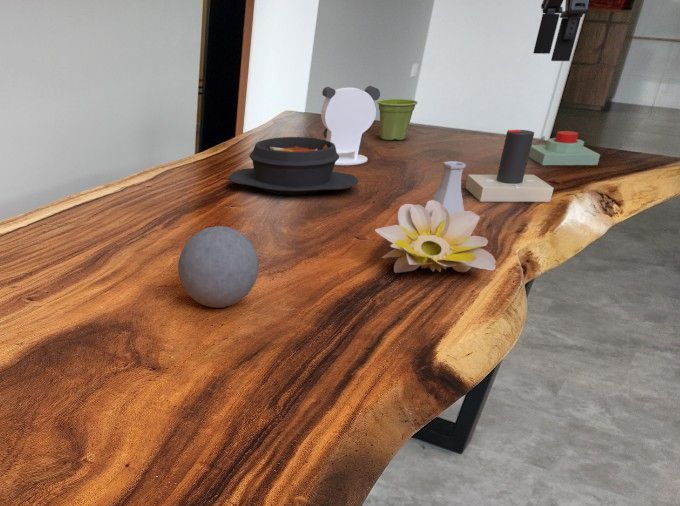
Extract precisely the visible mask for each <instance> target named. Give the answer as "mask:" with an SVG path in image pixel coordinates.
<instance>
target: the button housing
mask: <svg viewBox="0 0 680 506" xmlns="http://www.w3.org/2000/svg"><path fill="white" fill-rule="evenodd" d="M555 139H556V137H552V138H551V137H550V138H547V139H546V143H545V144H532V145H531V149H530V153H529V157H528V158H530V159H532V160H533V161H535V162H536V163H538V164H539V165H541V166H598V164H599V161H600V157H601V154H600V153H598V152H596V151H594V150H592V149H590V148H588V147H587V146H584V145H585V141H584V140H582V139H578V138H577V141H576V143H561V142H555Z"/></svg>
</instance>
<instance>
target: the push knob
mask: <svg viewBox="0 0 680 506" xmlns="http://www.w3.org/2000/svg"><path fill="white" fill-rule="evenodd" d="M578 137H579V132H577V131H571V130H559V131H557V132H556V135H555V138H556V139H555V142H561V143H576V141H577V139H578Z"/></svg>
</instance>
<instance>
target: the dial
mask: <svg viewBox="0 0 680 506" xmlns="http://www.w3.org/2000/svg"><path fill="white" fill-rule="evenodd" d="M534 136H535V132H534V131H533V130H528V129H527V130H526V129H508V130H507V131H506V135H505V139H504V144H503V148H502V153H501V157H500V162H499V165H498V170H497V174H496V175H497V179H496V180H497V181H499V182H503V183H512V184H514V183H521V182H523V178H524V175H526V169H527V165H528V161H529V158H530V157H529V153H530V149H531V145H533V142H534V141H533V140H534Z"/></svg>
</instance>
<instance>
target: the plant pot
mask: <svg viewBox="0 0 680 506" xmlns="http://www.w3.org/2000/svg"><path fill="white" fill-rule="evenodd" d="M418 102H419V101H417V100H414V99H407V98H388V99H378V100H377V104H378V110H379V138H380V139H381V140H386V141H394V140H397V141H402V140H405V139H406V137H407V133H408V129H409V126H410V123H411V119H412V115H413V112H414V110H415V108H416V105H417V104H418Z"/></svg>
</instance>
